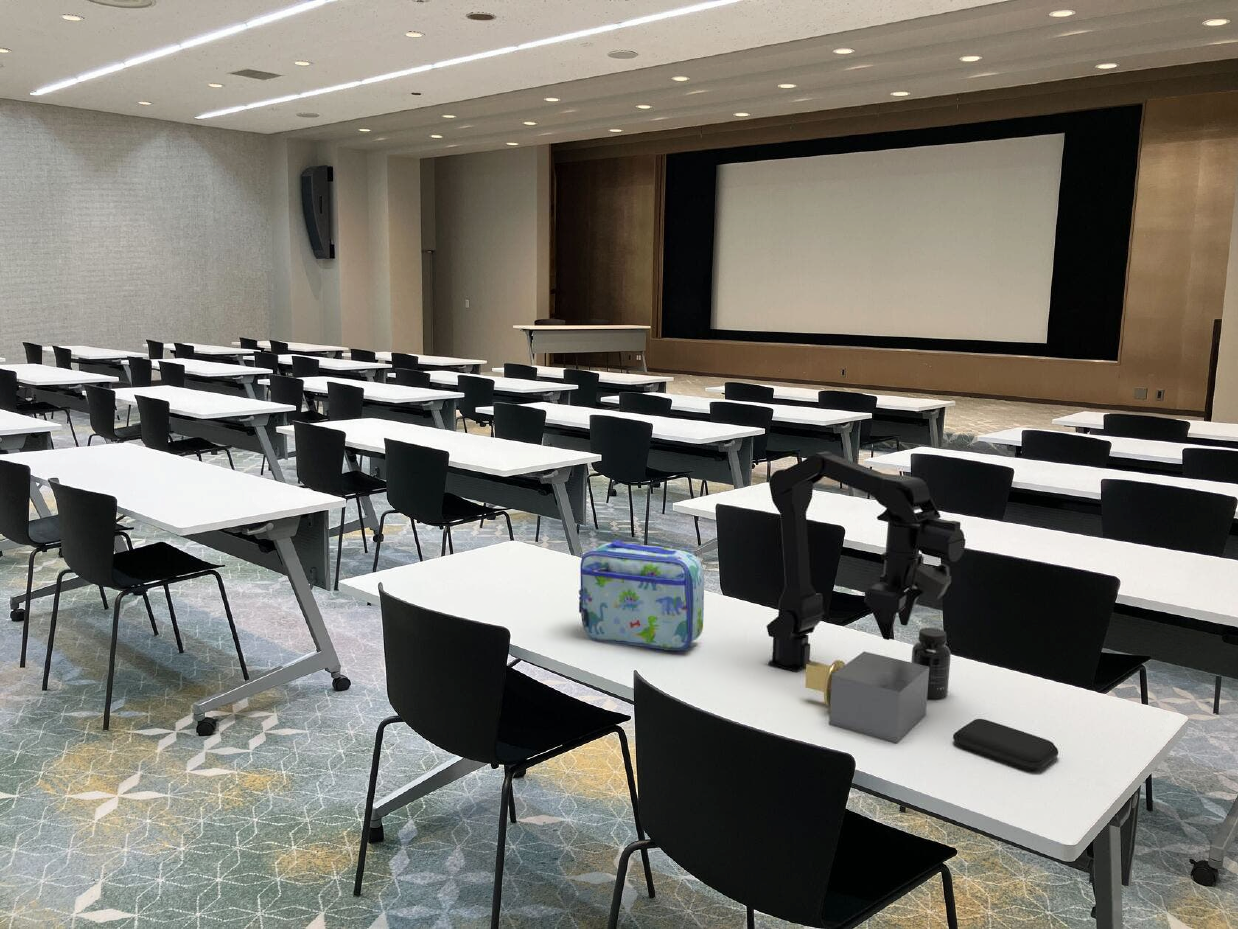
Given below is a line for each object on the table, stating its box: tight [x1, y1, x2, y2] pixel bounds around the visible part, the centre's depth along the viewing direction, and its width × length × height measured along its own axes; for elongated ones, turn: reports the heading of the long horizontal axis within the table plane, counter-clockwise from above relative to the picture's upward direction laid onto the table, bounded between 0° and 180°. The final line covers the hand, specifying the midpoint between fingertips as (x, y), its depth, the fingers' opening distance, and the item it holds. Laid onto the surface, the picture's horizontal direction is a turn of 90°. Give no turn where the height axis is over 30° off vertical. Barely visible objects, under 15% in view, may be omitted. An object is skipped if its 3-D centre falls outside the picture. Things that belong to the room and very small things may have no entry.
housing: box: [828, 650, 929, 744], centre depth 170 cm, size 12×14×9 cm
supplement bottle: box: [910, 627, 952, 701], centre depth 182 cm, size 7×7×12 cm
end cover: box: [804, 659, 846, 708], centre depth 175 cm, size 11×8×8 cm
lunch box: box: [578, 539, 705, 652], centre depth 206 cm, size 26×11×21 cm, turn 65°
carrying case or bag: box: [952, 718, 1059, 773], centre depth 160 cm, size 11×3×15 cm
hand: (895, 632), depth 177 cm, fingers open, 9 cm apart
